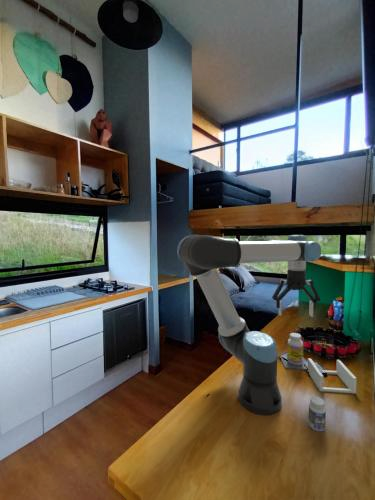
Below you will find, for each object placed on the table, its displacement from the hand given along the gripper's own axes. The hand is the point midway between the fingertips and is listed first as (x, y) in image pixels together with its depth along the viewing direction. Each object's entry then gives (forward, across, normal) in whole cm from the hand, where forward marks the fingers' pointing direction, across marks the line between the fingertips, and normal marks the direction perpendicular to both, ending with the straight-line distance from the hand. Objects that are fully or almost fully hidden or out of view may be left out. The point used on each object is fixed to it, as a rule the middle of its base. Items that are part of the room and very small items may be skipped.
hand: (295, 315), depth 110 cm
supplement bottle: (+22, 0, 0) cm, 22 cm away
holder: (+23, +10, -13) cm, 28 cm away
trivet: (+23, 0, 0) cm, 23 cm away
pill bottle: (+23, -4, -37) cm, 43 cm away
